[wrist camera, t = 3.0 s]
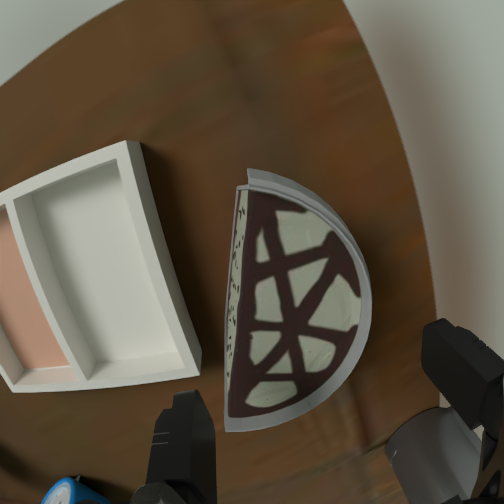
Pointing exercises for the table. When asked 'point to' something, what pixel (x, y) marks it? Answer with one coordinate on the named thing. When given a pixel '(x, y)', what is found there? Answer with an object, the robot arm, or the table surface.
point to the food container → (289, 303)
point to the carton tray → (90, 280)
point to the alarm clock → (71, 493)
